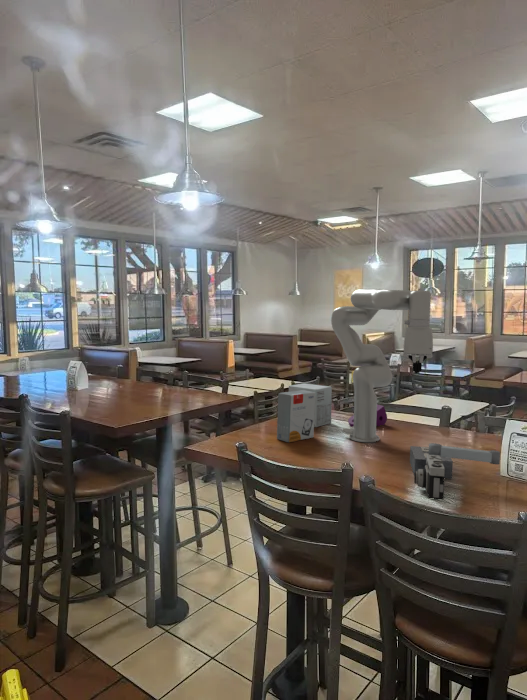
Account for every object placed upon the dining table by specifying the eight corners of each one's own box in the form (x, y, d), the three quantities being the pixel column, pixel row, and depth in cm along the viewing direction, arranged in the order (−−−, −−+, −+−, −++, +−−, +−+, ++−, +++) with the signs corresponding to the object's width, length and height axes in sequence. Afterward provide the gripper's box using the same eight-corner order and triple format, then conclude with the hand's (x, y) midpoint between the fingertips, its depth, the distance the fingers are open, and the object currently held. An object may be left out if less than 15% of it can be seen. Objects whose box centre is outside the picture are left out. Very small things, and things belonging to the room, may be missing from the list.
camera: (413, 481, 163) (414, 451, 162) (439, 484, 161) (441, 453, 160) (415, 497, 149) (416, 464, 149) (444, 500, 148) (445, 467, 147)
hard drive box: (288, 443, 206) (289, 395, 205) (276, 439, 212) (276, 392, 211) (314, 437, 217) (315, 391, 215) (301, 433, 222) (302, 389, 221)
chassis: (415, 479, 165) (416, 456, 164) (409, 462, 184) (410, 441, 183) (453, 482, 163) (454, 459, 162) (443, 464, 181) (444, 443, 181)
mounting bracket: (362, 440, 235) (389, 421, 242) (356, 425, 232) (383, 406, 239) (349, 436, 243) (375, 417, 250) (344, 421, 240) (370, 402, 247)
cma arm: (428, 453, 167) (429, 442, 167) (499, 461, 159) (499, 450, 159) (427, 456, 164) (428, 445, 163) (499, 465, 155) (500, 454, 155)
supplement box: (332, 423, 244) (333, 386, 242) (316, 427, 234) (317, 389, 232) (303, 417, 255) (304, 382, 253) (287, 421, 245) (287, 385, 243)
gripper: (398, 323, 183) (397, 373, 185) (441, 324, 181) (439, 375, 182) (397, 323, 191) (395, 371, 192) (438, 324, 188) (436, 372, 190)
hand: (416, 373), depth 187 cm, fingers closed
